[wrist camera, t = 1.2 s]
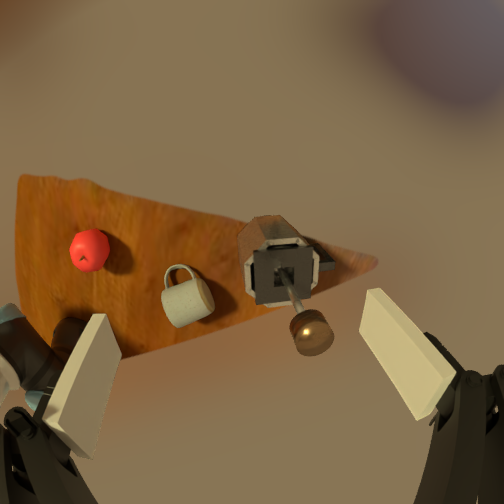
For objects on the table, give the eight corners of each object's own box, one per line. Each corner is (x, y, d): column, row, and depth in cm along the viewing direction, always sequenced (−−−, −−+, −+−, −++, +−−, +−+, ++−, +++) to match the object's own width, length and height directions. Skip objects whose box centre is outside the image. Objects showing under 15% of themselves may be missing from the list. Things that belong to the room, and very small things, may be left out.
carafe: (239, 273, 53) (247, 313, 41) (236, 217, 49) (243, 244, 36) (310, 266, 54) (335, 301, 42) (312, 212, 50) (342, 235, 38)
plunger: (255, 291, 43) (278, 373, 27) (253, 246, 40) (279, 317, 24) (302, 285, 44) (344, 360, 28) (303, 241, 41) (355, 305, 25)
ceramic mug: (217, 298, 54) (217, 321, 47) (182, 313, 55) (178, 336, 48) (192, 254, 50) (188, 272, 43) (155, 271, 51) (147, 290, 44)
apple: (73, 236, 45) (54, 252, 38) (99, 215, 45) (81, 229, 38) (94, 268, 49) (79, 288, 41) (122, 250, 48) (108, 268, 41)
